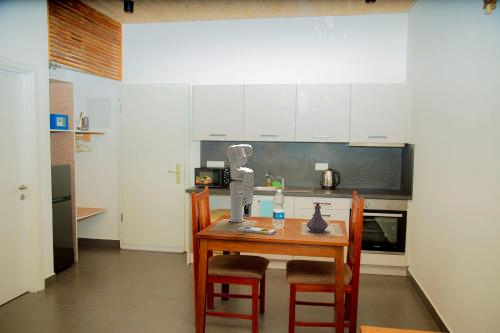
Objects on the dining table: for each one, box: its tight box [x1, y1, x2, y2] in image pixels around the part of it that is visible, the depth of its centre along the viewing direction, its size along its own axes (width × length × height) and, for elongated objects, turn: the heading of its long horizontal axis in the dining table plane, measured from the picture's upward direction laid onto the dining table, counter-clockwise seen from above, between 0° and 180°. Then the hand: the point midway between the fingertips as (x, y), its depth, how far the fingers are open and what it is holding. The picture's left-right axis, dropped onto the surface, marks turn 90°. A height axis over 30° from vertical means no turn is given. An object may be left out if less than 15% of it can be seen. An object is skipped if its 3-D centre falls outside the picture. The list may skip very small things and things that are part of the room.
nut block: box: [243, 205, 252, 218], centre depth 281 cm, size 4×4×8 cm
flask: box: [305, 202, 329, 233], centre depth 282 cm, size 16×16×20 cm
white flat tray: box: [236, 225, 277, 236], centre depth 278 cm, size 9×26×2 cm, turn 64°
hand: (247, 213), depth 282 cm, fingers closed on nut block, 4 cm apart
